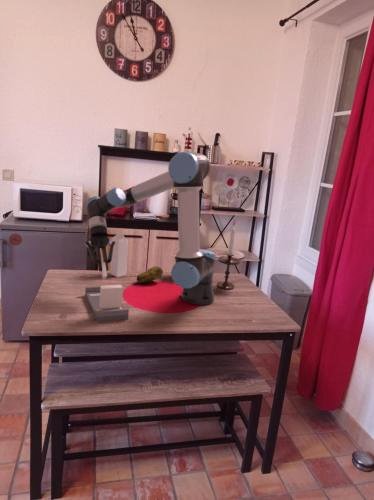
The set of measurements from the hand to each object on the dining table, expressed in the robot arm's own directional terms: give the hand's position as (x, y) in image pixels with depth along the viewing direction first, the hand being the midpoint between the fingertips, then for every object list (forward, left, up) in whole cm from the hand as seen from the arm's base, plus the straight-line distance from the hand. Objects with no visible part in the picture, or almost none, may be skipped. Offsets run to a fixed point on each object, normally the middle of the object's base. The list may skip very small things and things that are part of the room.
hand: (104, 277), depth 152 cm
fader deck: (-3, +3, -11) cm, 12 cm away
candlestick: (-44, -48, -11) cm, 66 cm away
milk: (+10, -35, -11) cm, 38 cm away
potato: (-8, -33, -11) cm, 36 cm away
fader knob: (-8, +10, -9) cm, 15 cm away
